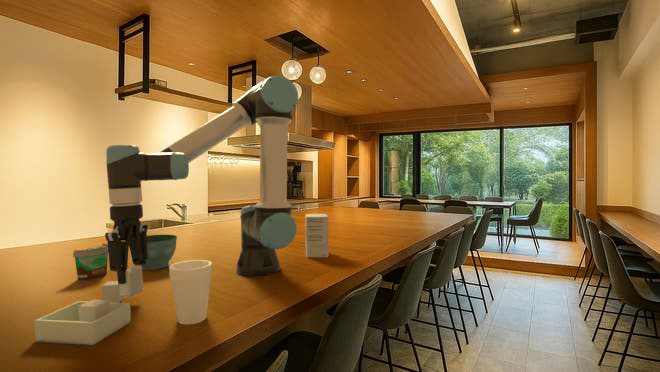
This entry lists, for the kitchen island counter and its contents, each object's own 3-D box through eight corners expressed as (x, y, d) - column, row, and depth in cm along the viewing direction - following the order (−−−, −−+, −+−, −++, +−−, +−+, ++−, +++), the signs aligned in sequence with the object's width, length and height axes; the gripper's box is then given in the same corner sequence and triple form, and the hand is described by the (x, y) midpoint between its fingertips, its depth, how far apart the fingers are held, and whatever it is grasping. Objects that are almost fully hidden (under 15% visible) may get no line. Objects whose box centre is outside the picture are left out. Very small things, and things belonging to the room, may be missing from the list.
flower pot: (128, 275, 122) (127, 244, 121) (129, 265, 136) (129, 236, 136) (179, 269, 129) (178, 239, 129) (175, 259, 144) (175, 233, 143)
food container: (89, 282, 115) (88, 251, 114) (73, 281, 116) (72, 250, 115) (119, 271, 127) (118, 243, 126) (104, 270, 128) (103, 243, 127)
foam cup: (178, 311, 90) (177, 260, 89) (216, 310, 90) (215, 259, 90) (164, 328, 80) (163, 270, 80) (206, 326, 81) (205, 269, 80)
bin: (130, 322, 84) (130, 303, 83) (93, 345, 72) (92, 323, 72) (79, 319, 85) (78, 301, 85) (35, 341, 74) (34, 320, 74)
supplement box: (305, 252, 155) (305, 213, 154) (326, 252, 156) (326, 213, 155) (306, 258, 145) (305, 216, 144) (328, 257, 146) (328, 216, 145)
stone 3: (142, 291, 97) (141, 269, 96) (132, 296, 93) (130, 273, 93) (129, 290, 98) (128, 268, 97) (118, 295, 94) (117, 273, 93)
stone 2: (124, 298, 100) (123, 280, 100) (119, 302, 96) (118, 284, 96) (108, 299, 99) (107, 281, 99) (102, 304, 95) (102, 285, 95)
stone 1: (110, 326, 80) (109, 300, 80) (96, 334, 76) (95, 307, 76) (94, 325, 81) (93, 299, 81) (79, 333, 77) (78, 306, 77)
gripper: (134, 201, 103) (139, 281, 104) (87, 208, 86) (93, 304, 87) (159, 200, 102) (163, 281, 103) (115, 208, 85) (122, 304, 86)
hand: (131, 291), depth 95 cm, fingers closed on stone 3, 4 cm apart
